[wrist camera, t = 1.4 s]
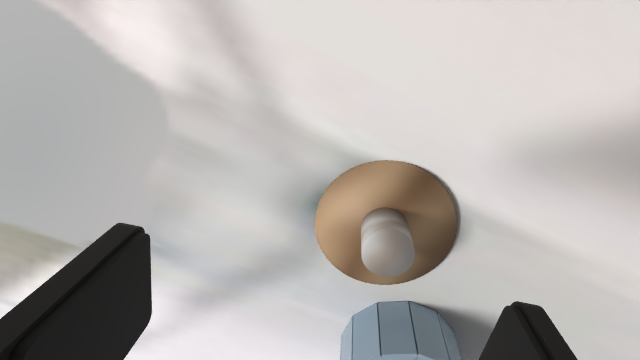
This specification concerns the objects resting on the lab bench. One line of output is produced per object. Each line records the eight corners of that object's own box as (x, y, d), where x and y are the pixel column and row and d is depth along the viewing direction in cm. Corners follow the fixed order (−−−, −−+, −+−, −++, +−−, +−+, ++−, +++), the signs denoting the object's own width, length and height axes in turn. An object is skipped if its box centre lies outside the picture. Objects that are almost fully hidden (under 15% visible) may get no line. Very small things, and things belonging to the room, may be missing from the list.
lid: (482, 191, 29) (504, 220, 25) (414, 296, 34) (423, 335, 30) (347, 136, 29) (345, 156, 24) (297, 251, 34) (288, 285, 29)
